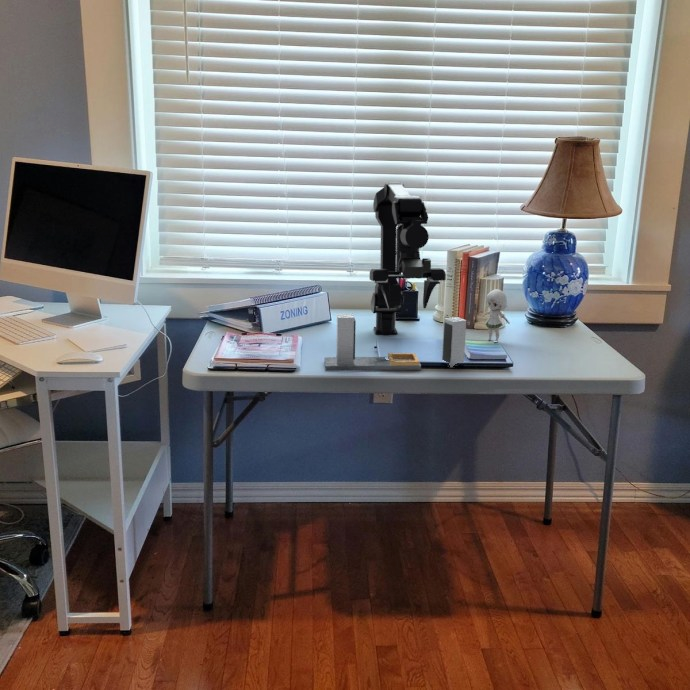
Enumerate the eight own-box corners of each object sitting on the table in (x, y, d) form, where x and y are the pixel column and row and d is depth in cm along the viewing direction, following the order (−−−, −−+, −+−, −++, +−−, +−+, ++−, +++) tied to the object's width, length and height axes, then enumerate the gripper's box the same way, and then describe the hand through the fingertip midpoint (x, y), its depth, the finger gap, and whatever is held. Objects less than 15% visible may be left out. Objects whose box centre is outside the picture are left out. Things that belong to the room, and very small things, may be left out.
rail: (324, 361, 200) (324, 312, 197) (416, 361, 202) (418, 312, 198) (325, 370, 193) (325, 319, 190) (420, 370, 195) (423, 319, 191)
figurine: (472, 338, 223) (476, 287, 219) (486, 335, 227) (490, 284, 222) (501, 347, 215) (505, 294, 211) (515, 343, 219) (519, 291, 215)
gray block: (441, 363, 201) (443, 318, 197) (454, 361, 202) (457, 316, 199) (450, 367, 197) (453, 322, 194) (463, 365, 199) (466, 320, 196)
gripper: (377, 248, 187) (376, 313, 189) (452, 248, 189) (450, 311, 192) (369, 247, 198) (369, 307, 200) (440, 246, 200) (439, 306, 203)
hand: (407, 308), depth 198 cm, fingers open, 9 cm apart
